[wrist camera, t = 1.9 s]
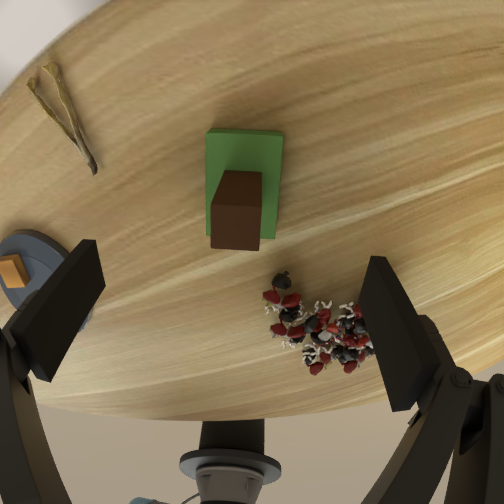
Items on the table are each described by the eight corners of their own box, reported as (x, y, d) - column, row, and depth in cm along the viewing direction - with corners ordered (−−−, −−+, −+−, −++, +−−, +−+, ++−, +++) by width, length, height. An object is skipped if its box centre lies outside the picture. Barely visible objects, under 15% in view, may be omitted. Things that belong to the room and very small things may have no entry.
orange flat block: (31, 280, 33) (25, 287, 32) (13, 281, 33) (7, 288, 32) (18, 253, 31) (12, 259, 30) (1, 256, 31) (-6, 262, 30)
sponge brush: (273, 227, 30) (278, 291, 21) (210, 223, 30) (189, 286, 21) (281, 131, 25) (293, 157, 17) (210, 128, 25) (183, 152, 17)
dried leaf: (103, 169, 25) (111, 163, 27) (45, 57, 20) (55, 57, 21) (72, 191, 26) (81, 184, 28) (16, 84, 20) (28, 83, 22)
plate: (105, 337, 39) (102, 344, 38) (21, 320, 39) (18, 325, 38) (76, 231, 31) (71, 236, 30) (-13, 228, 31) (-18, 232, 30)
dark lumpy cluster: (404, 269, 31) (416, 297, 27) (374, 358, 38) (378, 386, 34) (265, 259, 33) (259, 287, 29) (263, 352, 40) (258, 380, 36)
